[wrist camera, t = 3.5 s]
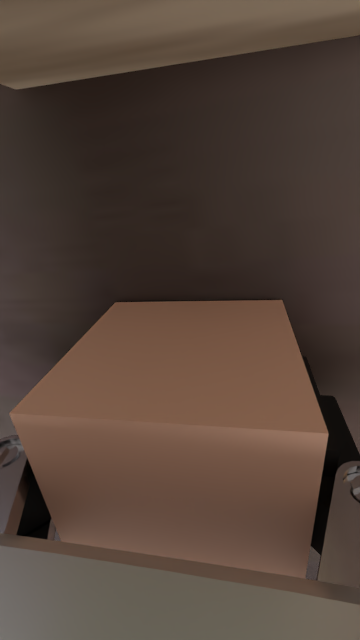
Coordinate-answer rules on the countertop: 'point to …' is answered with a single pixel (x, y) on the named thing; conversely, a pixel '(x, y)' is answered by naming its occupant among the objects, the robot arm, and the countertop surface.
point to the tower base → (153, 33)
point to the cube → (182, 435)
